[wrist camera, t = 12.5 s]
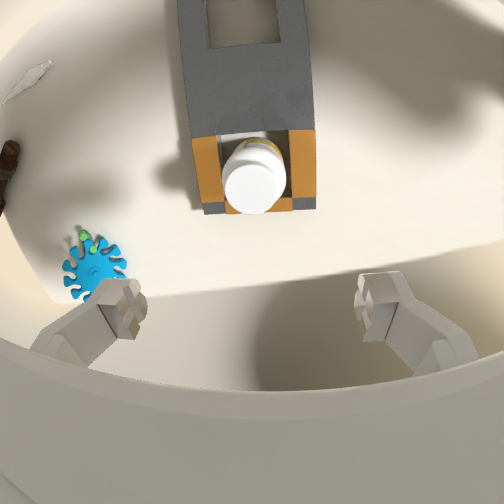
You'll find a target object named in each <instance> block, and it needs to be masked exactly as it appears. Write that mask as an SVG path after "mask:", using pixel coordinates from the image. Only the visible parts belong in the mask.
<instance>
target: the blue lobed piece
mask: <svg viewBox="0 0 504 504" xmlns="http://www.w3.org/2000/svg"><path fill="white" fill-rule="evenodd" d="M79 237H80V239H81V241H82V246H83V251H84V256H83V257H82V258H79V257H78V254H79V250H78V247H77V246H74V247H72V248H71V249H70V254H71V256H73V257H74V258H75V259H76V261H77V267H76V268H72V267H71V264H70V262H69V261H68V260H65V261H64V263H63V265H62V268H63V270H64V271H70V272H72V273H74V274H75V275H76V276H77V277H76V278H75V279H71V278H70V277H69V276H64V286H65V287H68V286H70V285H73V284H77V285H81V288H80V289H75V288H73V289H72V290H71V294H72V296H73V298H74V299H77V298H78V297H79V296H80V294H82V293H83V292H86V291H90V294H88V295H85V296H84V297H83V300H84V302H85V303H86V301H87V300H88V299H89V297H90V296H91V294H92V293H93V292H94V290H95V289H96V287H97V286H98V285H99V283H100V282H101V281H102V279H105V278H113V277H117V278H125V279H126V276H125V275H124V274H122V273H117V272H115V271H114V270H113V268H114V266H116V265H117V266H119V267H120V268H121V269H125V268H126V260H125V259H120V260H117V261H112V260H109V257H110V256H111V255H114V256H119V255H120V254H121V253H120V250H119V248H118V247H117V245H115V246H113V247H112V249H111V250H110V251H108V252H106V253H103V254H101V253H100V250H101V249H103V248H106V247H107V246H108V245H109V243H108V242H107V240H105V239H104V238H100V240H99V244H98V247H97V248H96V246H95V244H94V243H93V241H92V237H91V235H90V234H89V233H86V232H85V231H80V233H79Z"/></svg>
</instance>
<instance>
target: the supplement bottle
mask: <svg viewBox="0 0 504 504" xmlns="http://www.w3.org/2000/svg"><path fill="white" fill-rule="evenodd" d="M222 184H223V188H224V190H225V196H226V198H227V201H228V202H229V204H230V205H231V206H232V207H233V208H234V209H236V210H237V211H239V212H241V213H244V214H249V215H255V214H260V213H263V212H265V211H267V210H268V209H269V208H271V207H272V205H273V204H274V203H275V201H277V200H278V199H279V197H280V196H281V195H282V193H283V191H284V188H285V185H286V172H285V168H284V162H283V157H282V154H281V151H280V149H279V148H278V147H277V145H276V144H274V143H273V142H272V141H270V140H268V139H266V138H262V137H252V138H248V139H246V140H244V141H242V142H241V143H240V144H239V145H238V146H237V147H236V148H235V150H234V152H233V153H232V154H231V156H230V157H229V159H228V160H227V162H226V164H225V166H224V168H223V172H222Z"/></svg>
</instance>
